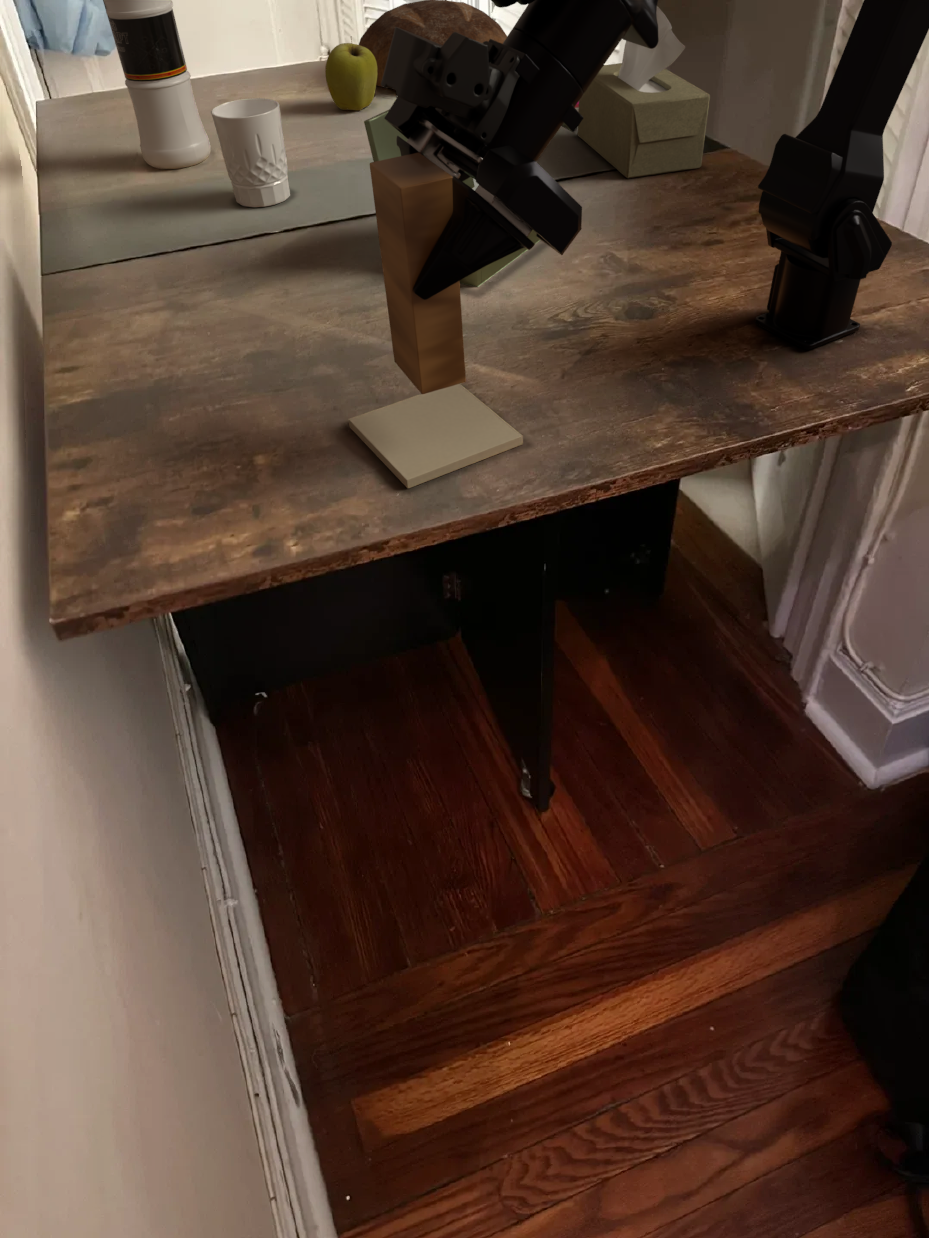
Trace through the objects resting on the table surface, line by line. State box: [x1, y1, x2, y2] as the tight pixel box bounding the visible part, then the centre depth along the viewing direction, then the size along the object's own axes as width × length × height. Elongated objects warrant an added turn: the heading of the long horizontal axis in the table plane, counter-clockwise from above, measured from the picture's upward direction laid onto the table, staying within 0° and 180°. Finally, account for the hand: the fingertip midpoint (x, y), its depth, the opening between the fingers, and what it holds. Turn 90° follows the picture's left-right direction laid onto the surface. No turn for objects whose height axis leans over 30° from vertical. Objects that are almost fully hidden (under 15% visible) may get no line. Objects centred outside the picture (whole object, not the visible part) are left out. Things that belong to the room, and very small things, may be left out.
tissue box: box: [577, 5, 711, 180], centre depth 108 cm, size 19×10×16 cm, turn 14°
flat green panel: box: [363, 108, 476, 189], centre depth 88 cm, size 10×15×1 cm
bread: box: [358, 0, 508, 88], centre depth 143 cm, size 26×27×10 cm
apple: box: [324, 37, 377, 111], centre depth 132 cm, size 8×8×10 cm
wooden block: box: [369, 153, 467, 394], centre depth 60 cm, size 4×6×14 cm, turn 24°
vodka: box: [102, 0, 212, 170], centre depth 111 cm, size 9×9×30 cm
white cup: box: [210, 97, 291, 208], centre depth 105 cm, size 8×8×10 cm
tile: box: [348, 383, 524, 489], centre depth 68 cm, size 10×10×1 cm
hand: (401, 279), depth 59 cm, fingers closed on wooden block, 5 cm apart
